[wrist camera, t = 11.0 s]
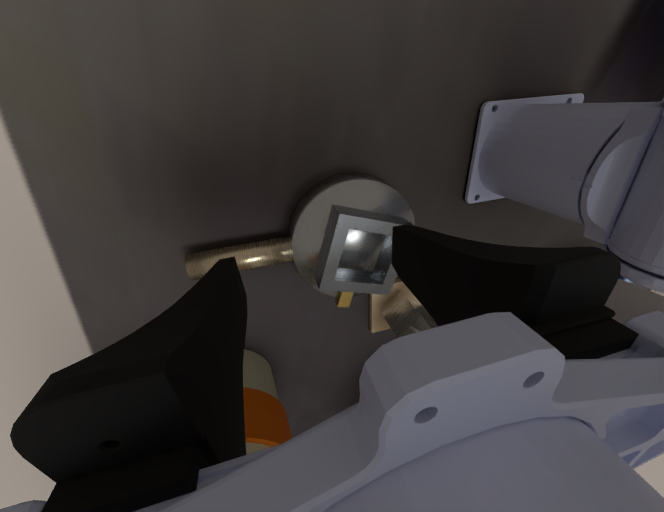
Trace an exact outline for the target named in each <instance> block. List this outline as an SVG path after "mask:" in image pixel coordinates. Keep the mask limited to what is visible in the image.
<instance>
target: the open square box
mask: <svg viewBox="0 0 664 512" xmlns="http://www.w3.org/2000/svg"><path fill="white" fill-rule="evenodd" d="M404 224H406V225H412V226H414V225H413V224H412V223H410V222H409V221H408V220H406V219H405V218H404V217H399V216H393V215H388V214H382V213H377V212H372V211H366V210H361V209H355V208H350V207H345V206H339V205H334V204H332V207H331V211H330V214H329V218H328V222H327V226H326V230H325V234H324V238H323V241H322V245H321V249H320V253H319V257H318V261H317V265H316V268H315V272H314V277H315V280H316V283H317V286H318V289H319V290H327V291H338V293H337V296H336V299H335V302H336V304H337V307H349V305H350V302H351V299H352V296H353V293H354V292H355V293H369V294H382V295H389V294H390V292H391V289H392V287H393V284H394V282H395V279H396V277H397V273H396V271H395V269H394V268H393V266H392V264H391V263H392V231H393V227H394V226H399V225H404ZM349 229H352V230H359V231H365V232H371V233H378V234H384V235H386V237H385V239H384V242H383V245H382V248H381V250H380V253H379V256H378V259H377V262H376V264H375V267H374V270H373V271H367V270H357V269H347V268H338V265H339V261H340V258H341V255H342V251H343V248H344V245H345V241H346V238H347V234H348V231H349Z"/></svg>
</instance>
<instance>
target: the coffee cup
mask: <svg viewBox="0 0 664 512" xmlns="http://www.w3.org/2000/svg"><path fill="white" fill-rule="evenodd" d="M605 306H606V307H608V308H610V309H612V310H614V311H615V313H616V314H615V316H614V317H611V318H613V319H614V320H616V321H618V322H619V323H621V324H623V323H624V322H626V321H627V320H628V319H630V318H633V317H636V316H639V315H642V314H646V313H649V312H652V311H660V312H662V313H664V296H661V295H659V294H656V293H654V292H651V291H649V290H646V289H644V288H641V287H638V286H636V285H633V284H631V283H628V282H626V281H623V280H620V279H618V281H617V283H616V285H615V287H614V289H613V290H612V292H611V294H610V296H609V298H608V300H607V302H606V303H605Z"/></svg>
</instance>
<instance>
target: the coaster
mask: <svg viewBox="0 0 664 512" xmlns="http://www.w3.org/2000/svg"><path fill="white" fill-rule="evenodd" d="M399 289H400V290H402V291H403V292H405V293H406V294H408V295H410V296H411V297H413V298H414V299H416V297H415V296H414V295H413V294H412V293H411V291H410V290H409V289H408V288H407V287H406V285H405V284H404V283H403V282H402V280H401V279H400V278H398V279H395V282H394V284H393V287H392V289H391V292H390V294H389V295H382V294H370V331H371V333H374V332H378V331H382V330H386V329H390V328H391V327H390V326H389V324H388V323H387V321H386V319H385V318H384V316H383V314H382V313H381V311H380V310H381V309H382V307H383V306H384V305H385V304H386V303H387V302H388V301H389V300H390V299H391V298H392V297H393V296H394V294H395V293H396V292H397V291H398V290H399ZM416 300H417V299H416ZM418 302H419V301H418ZM419 303H420V302H419ZM420 304H421V303H420ZM421 305H422V304H421Z"/></svg>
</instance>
